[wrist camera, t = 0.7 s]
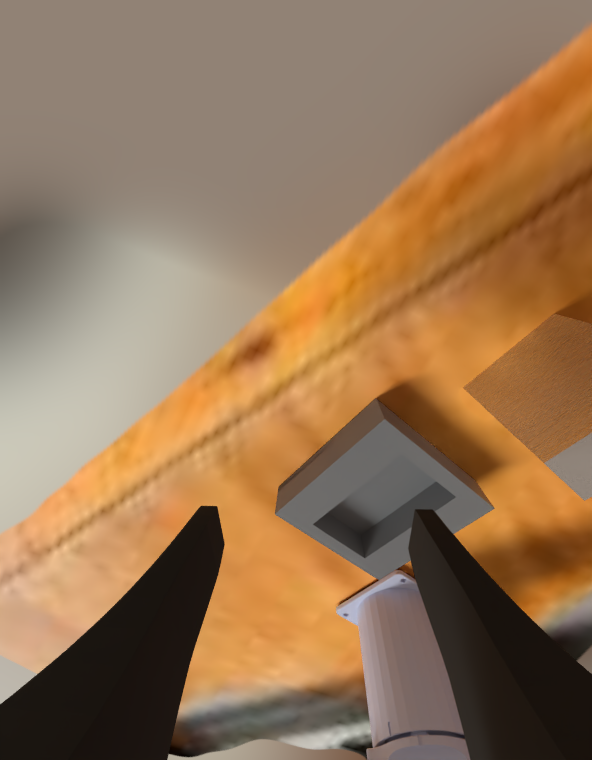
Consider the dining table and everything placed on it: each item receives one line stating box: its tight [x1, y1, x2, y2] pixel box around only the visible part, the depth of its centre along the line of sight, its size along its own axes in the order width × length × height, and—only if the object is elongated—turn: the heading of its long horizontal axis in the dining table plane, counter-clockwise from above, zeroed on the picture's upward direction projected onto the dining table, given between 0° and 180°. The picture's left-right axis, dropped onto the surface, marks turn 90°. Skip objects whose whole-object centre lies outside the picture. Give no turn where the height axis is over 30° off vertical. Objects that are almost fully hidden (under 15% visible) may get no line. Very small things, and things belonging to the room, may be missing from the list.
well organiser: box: [275, 399, 495, 580], centre depth 20 cm, size 10×10×2 cm
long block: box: [463, 314, 592, 501], centre depth 14 cm, size 3×6×7 cm, turn 140°
